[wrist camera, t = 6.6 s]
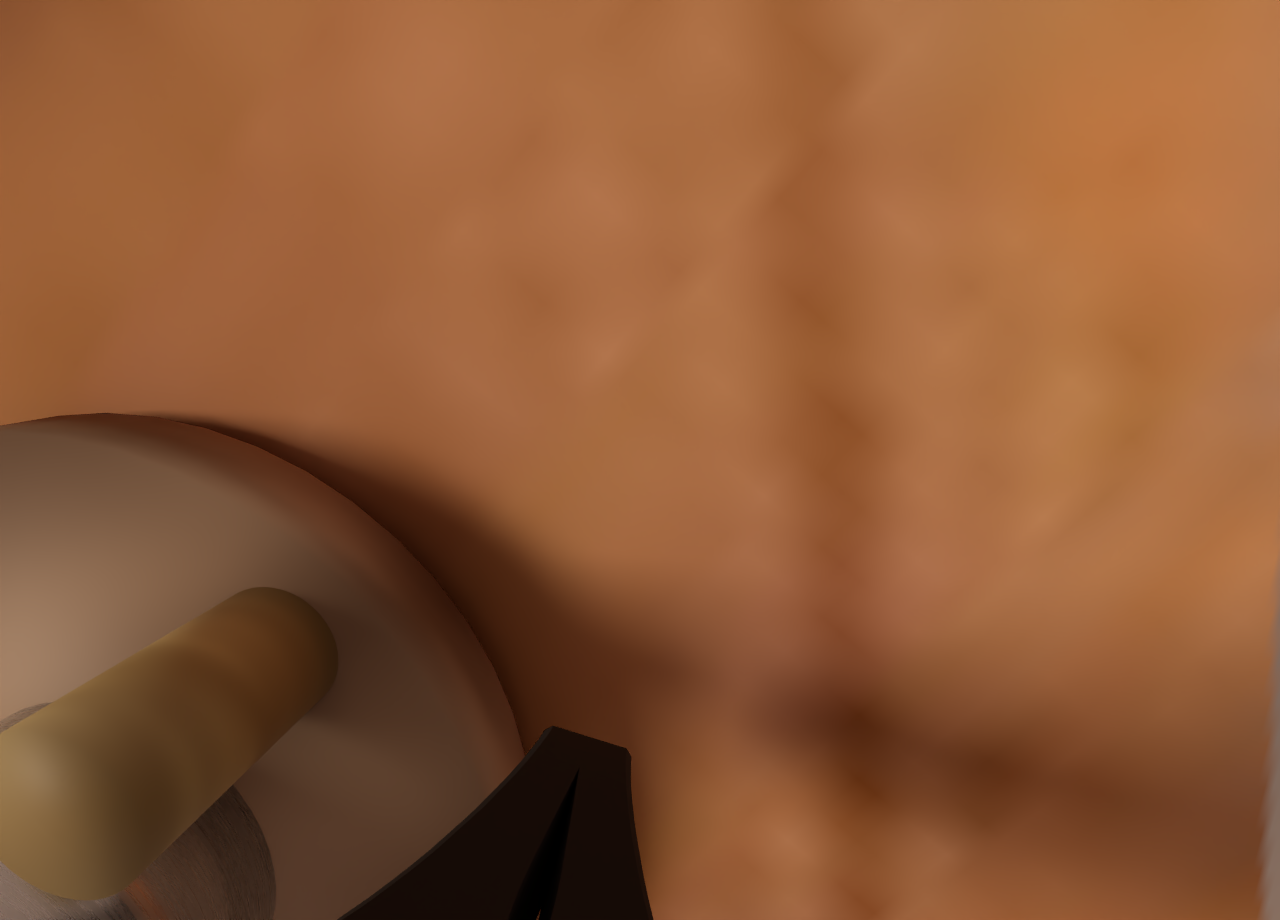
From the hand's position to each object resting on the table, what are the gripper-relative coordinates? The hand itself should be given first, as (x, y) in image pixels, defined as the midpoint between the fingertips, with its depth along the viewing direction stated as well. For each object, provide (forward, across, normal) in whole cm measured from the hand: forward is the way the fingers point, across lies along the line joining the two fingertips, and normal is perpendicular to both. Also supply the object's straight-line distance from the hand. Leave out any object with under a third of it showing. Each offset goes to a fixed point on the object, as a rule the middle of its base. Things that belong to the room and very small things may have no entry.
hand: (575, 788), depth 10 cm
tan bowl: (+4, +9, +6) cm, 11 cm away
